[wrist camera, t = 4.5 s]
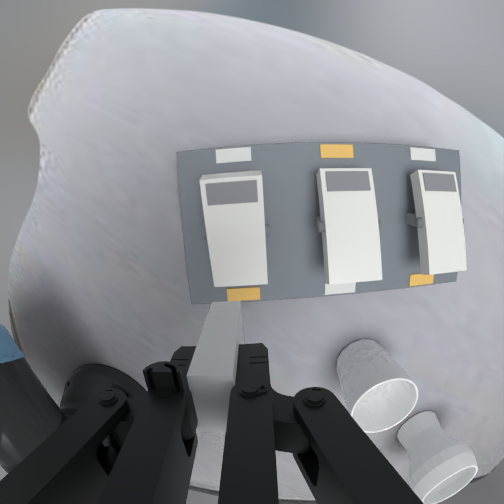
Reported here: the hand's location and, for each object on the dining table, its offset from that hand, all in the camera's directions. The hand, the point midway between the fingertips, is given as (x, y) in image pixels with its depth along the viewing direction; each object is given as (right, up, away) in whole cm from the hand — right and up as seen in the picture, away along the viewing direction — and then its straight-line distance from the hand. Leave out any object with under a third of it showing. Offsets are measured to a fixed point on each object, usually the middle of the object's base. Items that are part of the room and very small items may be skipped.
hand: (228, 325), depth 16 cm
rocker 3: (+18, +7, +8) cm, 21 cm away
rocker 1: (0, +5, +8) cm, 10 cm away
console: (+9, +8, +17) cm, 20 cm away
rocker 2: (+9, +6, +8) cm, 13 cm away
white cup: (+15, -10, +21) cm, 28 cm away
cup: (+29, -26, +24) cm, 46 cm away
